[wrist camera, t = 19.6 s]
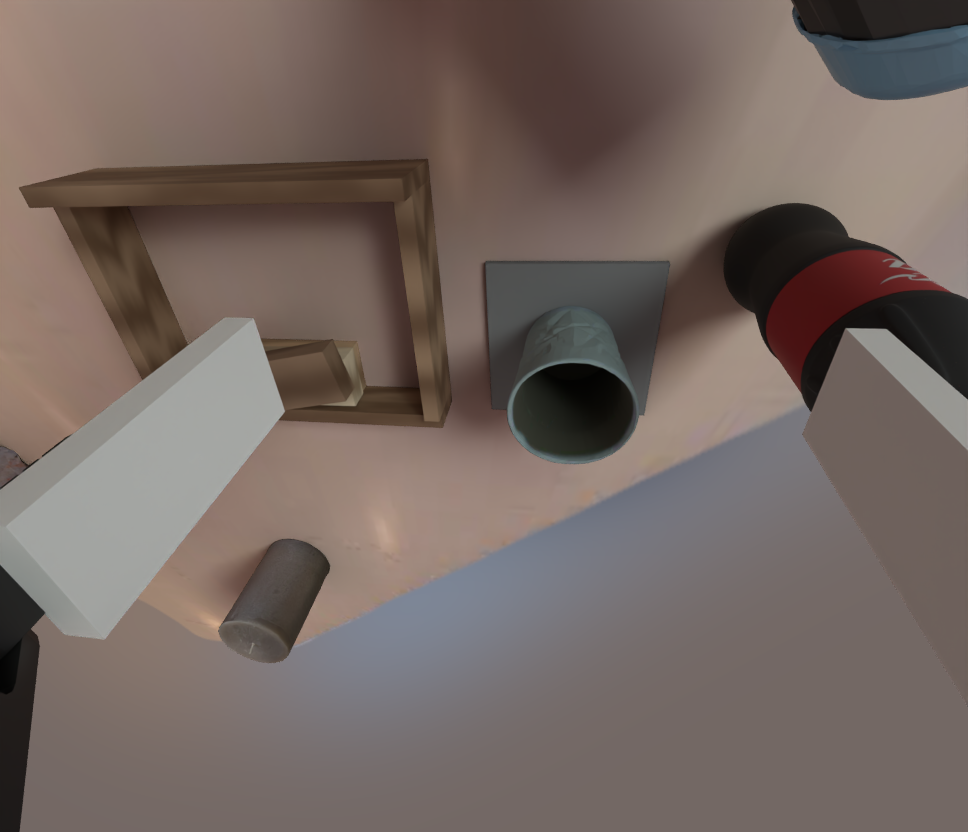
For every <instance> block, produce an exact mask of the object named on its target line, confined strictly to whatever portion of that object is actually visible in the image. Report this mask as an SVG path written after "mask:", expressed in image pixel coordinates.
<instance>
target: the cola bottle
mask: <svg viewBox="0 0 968 832" xmlns="http://www.w3.org/2000/svg"><path fill="white" fill-rule="evenodd" d="M724 277H725V281H726V285H727V287H728V289H729V291H730V293H731V295H732V296H733V298H734V299H735V300H736V301H737V302H738V303H739V304H740V305H741V306H743V307H744V308H746V309H747V310H749V311H751V312H753V313H755V315H756V319H757V322H758V326H759V329H760V333H761V336H762V338H763V340H764V342H765V344H766V346H767V347H768V349H769V350H770V352H771V353H772V354H773V355H774V356H775V357H776V358H777V359H778V360H779V361H780V363H781V364H782V366H783V367H784V368H785V370H786V371H787V373H788V374H789V376H790V377H791V379H792V380H793V382H794V383H795V385H796V386H797V388H798V389H799V391H800V392H801V393H802V396H803V399H804V401H805V403H806V405H807V407H808V408H809V410H810V411H811V412H812V409H813V407H814V404H815V402H816V399H817V397H818V394H819V392H820V390H821V387H822V385H823V382H824V380H825V377H826V375H827V372H828V370H829V367H830V365H831V363H832V360H833V358H834V355H835V353H836V350H837V348H838V345H839V343H840V341H841V338H842V336H843V333H844V331H845V328H859V329H887V330H888V331H889V332H891V333H892V334H893V335H894V336H895V337H896V338H897V339H899V340H900V341H901V342H902V343H903V344H904V345H905V346H907V347H908V348H909V349H910V350H911V351H912V352H914V353H915V354H916V355H917V356H918V357H919V358H920V359H922V360H923V361H924V362H925V363H926V364H927V365H928V366H930V367H931V368H932V369H933V370H934V371H935V372H936V373H938V374H939V375H940V376H941V377H942V378H943V379H944V380H946V381H947V382H948V383H949V384H950V385H951V386H952V387H954V388H955V389H956V390H957V391H958V392H959V393H960V394H962V395H963V396H964V397H965V398H966V399H967V400H968V299H967V298H965V297H962V296H960V295H957V294H954V293H951V292H950V291H948V290H947V289H945V288H943V287H942V286H940V285H939V284H937V283H935V282H934V281H932V280H931V279H929V278H928V277H926V276H924V275H923V274H921V273H920V272H918V271H916V270H915V269H913V268H912V267H910V266H908V265H907V264H906V262H905V261H904V260H903V259H901V258H900V257H899V256H897V255H896V254H894V253H893V252H891V251H889V250H887V249H885V248H883V247H881V246H878V245H875V244H871V243H868V242H864V241H861V240H857V239H853V238H850V237H849V236H848V234H847V231H846V230H845V228H844V226H843V225H842V223H841V222H840V221H839V220H838V219H837V218H836V217H835V216H834V215H832V214H831V213H830V212H828V211H826V210H824V209H822V208H820V207H817V206H813V205H809V204H802V203H788V204H781V205H777V206H773V207H770V208H767V209H765V210H763V211H761V212H759V213H757V214H755V215H754V216H752V217H751V218H750V219H748V220H747V221H746V222H745V223H744V224H743V225H742V226H741V227H740V228H739V229H738V230H737V231H736V233H735V234H734V236H733V237H732V239H731V241H730V243H729V245H728V247H727V250H726V253H725V258H724Z"/></svg>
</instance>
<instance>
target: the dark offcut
mask: <svg viewBox="0 0 968 832" xmlns="http://www.w3.org/2000/svg"><path fill="white" fill-rule="evenodd" d="M265 354H266V356H267V359H268V362H269V365H270V368H271V371H272V374H273V377H274V380H275V383H276V386H277V389H278V392H279V395H280V398H281V401H282V404H283V407H284V410H289V409H296V408H303V407H310V406H317V405H324V404H331V403H338V402H345V401H347V399H348V398H349V396H350V394H351V393H352V391H353V390H354V388H355V387H354V384H353V382H352V380H351V378H350V376H349V374H348V371H347V369H346V367H345V365H344V363H343V361H342V358H341V356H340V354H339V352H338V350H337V347H336V345H335V343H334V341H333V339H331V340H325V341H320V342H314V343H308V344H303V345H297V346H292V347H286V348H280V349H275V350H269V351H265Z"/></svg>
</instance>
